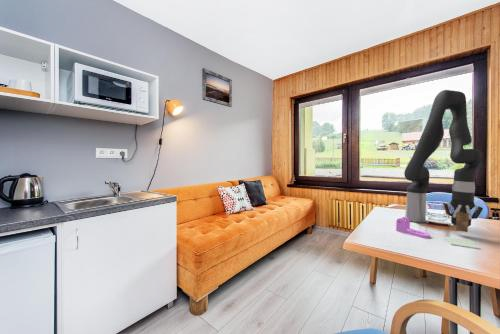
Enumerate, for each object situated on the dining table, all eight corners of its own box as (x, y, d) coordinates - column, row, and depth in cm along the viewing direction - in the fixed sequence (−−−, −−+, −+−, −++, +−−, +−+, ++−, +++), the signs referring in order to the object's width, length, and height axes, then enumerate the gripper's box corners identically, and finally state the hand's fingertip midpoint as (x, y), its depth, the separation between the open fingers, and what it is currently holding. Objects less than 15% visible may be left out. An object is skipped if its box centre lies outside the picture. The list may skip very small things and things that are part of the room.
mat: (450, 244, 90) (451, 243, 90) (443, 237, 99) (443, 236, 99) (480, 249, 86) (480, 248, 86) (470, 240, 94) (470, 240, 94)
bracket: (396, 230, 108) (396, 217, 108) (401, 229, 111) (401, 216, 111) (427, 239, 97) (427, 224, 97) (432, 237, 100) (432, 222, 99)
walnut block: (455, 230, 100) (457, 212, 100) (453, 228, 104) (454, 210, 103) (467, 232, 98) (468, 213, 98) (464, 229, 102) (465, 211, 101)
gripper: (445, 190, 100) (443, 225, 101) (488, 193, 93) (485, 230, 94) (441, 188, 107) (439, 220, 108) (480, 190, 99) (478, 226, 100)
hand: (460, 225), depth 101 cm, fingers closed on walnut block, 4 cm apart
